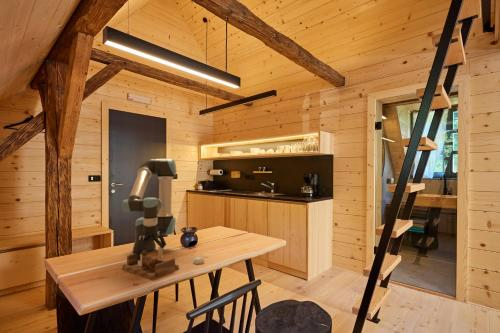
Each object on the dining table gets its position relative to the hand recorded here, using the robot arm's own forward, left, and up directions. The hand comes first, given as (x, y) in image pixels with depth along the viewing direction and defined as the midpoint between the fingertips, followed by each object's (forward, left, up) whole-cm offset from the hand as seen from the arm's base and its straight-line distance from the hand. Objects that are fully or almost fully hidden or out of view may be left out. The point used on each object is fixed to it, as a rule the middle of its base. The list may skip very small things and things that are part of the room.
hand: (150, 262), depth 152 cm
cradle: (0, 0, -4) cm, 4 cm away
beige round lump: (+15, +23, -4) cm, 28 cm away
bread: (+1, 0, -4) cm, 5 cm away
